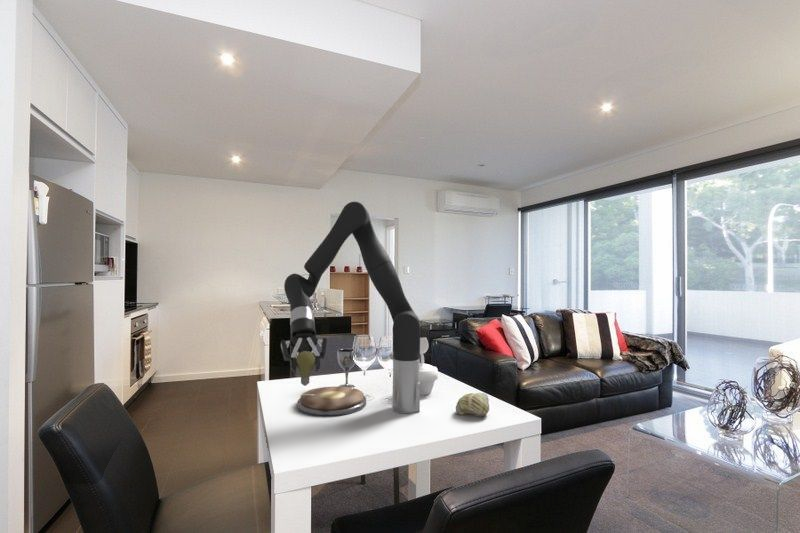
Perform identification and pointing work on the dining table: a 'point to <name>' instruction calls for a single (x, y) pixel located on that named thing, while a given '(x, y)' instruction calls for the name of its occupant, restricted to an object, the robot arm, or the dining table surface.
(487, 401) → the seashell
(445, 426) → the dining table surface
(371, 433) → the dining table surface
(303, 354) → the light bulb
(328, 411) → the turntable base
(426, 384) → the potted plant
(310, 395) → the turntable platter
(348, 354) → the wine glass
